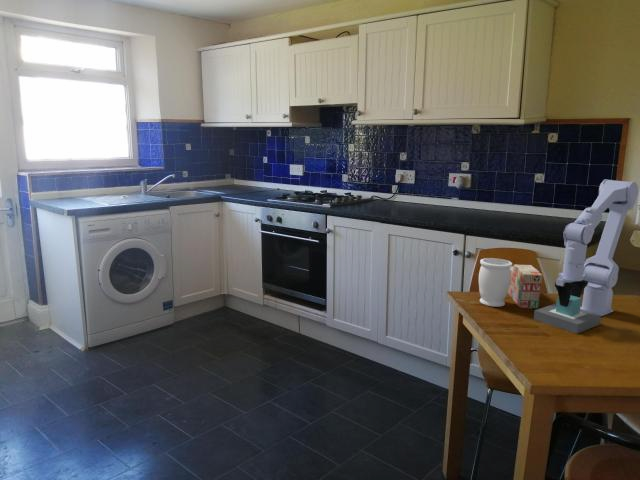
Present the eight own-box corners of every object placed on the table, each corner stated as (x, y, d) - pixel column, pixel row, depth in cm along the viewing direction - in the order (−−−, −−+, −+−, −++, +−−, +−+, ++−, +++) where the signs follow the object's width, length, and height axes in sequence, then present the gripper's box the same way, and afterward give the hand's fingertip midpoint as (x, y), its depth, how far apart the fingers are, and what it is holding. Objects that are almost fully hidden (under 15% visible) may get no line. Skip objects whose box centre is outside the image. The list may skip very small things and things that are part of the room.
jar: (470, 299, 179) (474, 258, 176) (496, 297, 182) (500, 257, 178) (487, 309, 169) (491, 266, 166) (514, 307, 172) (518, 264, 168)
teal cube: (564, 308, 162) (566, 293, 161) (579, 313, 158) (581, 298, 157) (555, 311, 159) (557, 296, 158) (571, 316, 155) (573, 301, 154)
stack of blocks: (503, 289, 192) (507, 257, 189) (520, 289, 191) (524, 258, 188) (519, 308, 171) (523, 273, 168) (538, 309, 170) (542, 274, 168)
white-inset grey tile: (557, 310, 169) (558, 302, 168) (600, 324, 158) (601, 314, 157) (533, 319, 161) (534, 310, 160) (576, 333, 150) (578, 324, 149)
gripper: (573, 256, 162) (568, 296, 165) (548, 262, 154) (543, 304, 157) (596, 261, 157) (590, 302, 160) (571, 267, 148) (565, 311, 151)
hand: (568, 304), depth 158 cm, fingers open, 5 cm apart
